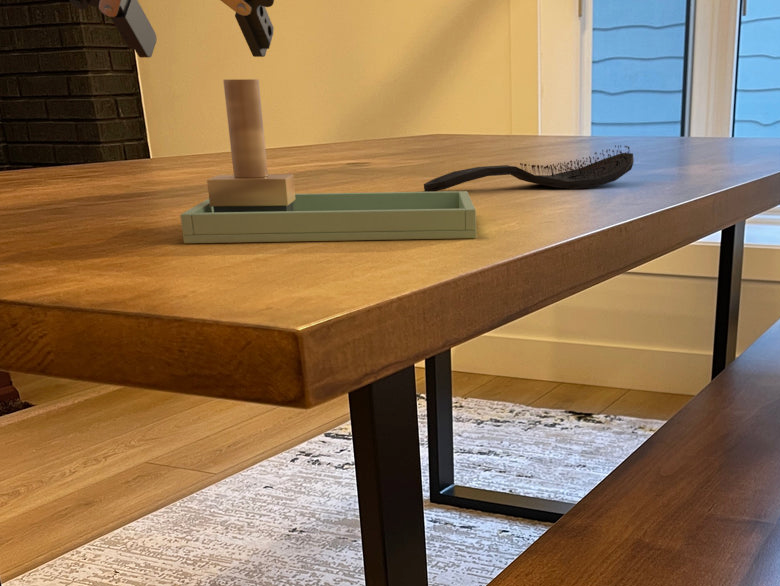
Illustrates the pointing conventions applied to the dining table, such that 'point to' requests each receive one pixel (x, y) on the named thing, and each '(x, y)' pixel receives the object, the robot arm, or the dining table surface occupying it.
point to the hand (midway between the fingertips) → (205, 48)
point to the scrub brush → (248, 158)
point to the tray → (339, 219)
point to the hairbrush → (569, 179)
